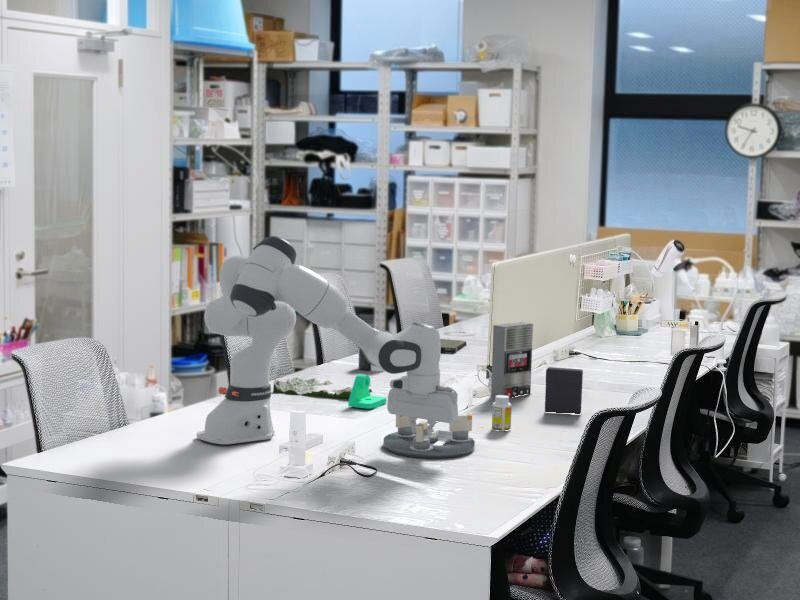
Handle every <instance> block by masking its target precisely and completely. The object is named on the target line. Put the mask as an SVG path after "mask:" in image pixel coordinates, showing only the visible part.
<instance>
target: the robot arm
mask: <svg viewBox="0 0 800 600" xmlns="http://www.w3.org/2000/svg"><path fill="white" fill-rule="evenodd" d="M296 259H297V251H296V249H295V248H294V246H293V245H292V244H291V243H290V242H289V241H288V240H286V239H284V238H282V237H279V236H275V235H270V236H266V237H265V238H263V239H262V240H261V241H260V242H259V243H258V244H256V245H255V246H254V247H253V248H252V252H251V253H250V256H248V257H247V256H243V255H232V256H230V257H228V258H227V259H225V260H224V262H223V263H222V264H221V267H220V270H219V286H220V289H221V290H220V291H221V294H222V296H219V297H218V298H214V299H211V301H210V302H208V304H207V306H206V307H205V311H204V322H205V325H206V327H207V329H208V331H210V333H212V334H216V335H220V336H225V337H250V338H252V342H251V344H250V345H248V346H246V347H243V348H242V349H240V350H238V351H236V352H234V354H232V357H231V359H230V371H229V374H230V375H229V376H230V377H229V380H230V381H229V384H228V386H227V388H226V387H223V386H220V387H218V389H217V392H218V393H219V394H221V395H224V399H223V400H222V401H220V403H219V404H217V405H216V406H215V407H214V408H213V410H211V411H210V412H209V413H208V414H207V415H206V419H205V421H204V422H205V423H204V430H201V431H198V432H196V438H197V439H199V440H201V441H205V442H207V443H212V444H218V445H232V444H233V445H234V444H240V443H249V442H256V441H263V440H265V441H266V440H270V439H273V435H275V430H274V426H273V421H272V413H271V405H270V404H271V403H270V402H271V401H270V400H271V396H272V395H271V394H272V387H271V383H270V374H271V373H270V371H271V362H272V356H273V354H274V351H275V349H276V348H277V346H278V344H279V343H280V342H281V341H282V340H283V339H284V338H285V337H287V336H289V335H290V334H291V332H292V331H293V330H294V328H295V326H296V324H297V314H296V313H298V314H299V315H301V316H302V317H303V318H304V319H306V320H307V321H309V322H311V323H313V324H315V325H317V326H319V327H321V328H323V329H331V330H334V331H336V332H339V333H340V334H341V335H342V336H343V337H344V338H346V339H348V340H349V341H350V342H352V343H353V344H354V345H355V346H357V347H358V348H359V349H360V350H361V351H362V353H363V355H364V357H365V359H366V360H367V361H368V362H369V363H370V364H371V365H373V366H376V367H378V368H380V369H382V370H384V371H383V372H386V373H388V374H392V375H395V374H396V375H397V374H403V373H406V375H404V376H401V377H397V378H395V379H391V380H390V382H389V387H390V389H389V392H388V393H387V400H386V403H387V404H386V405H387V406H386V407H387V408H386V409H387V411H388V413H389V414H390V415H395V416H396V415H401V416H407V417H409V423H410V425H411V427H412V434H416V425H417V424H418V423H417V421H418V419H420V420H425V421H427V423H428V426H427V428H426V429H424V436H431V435H432V429H434V427H435V425H436V423H437V422H439V423H445V424H449V423H453V422H455V421H456V420H457V419H458V415H459V408H458V393H457V392H456V390H455V389H453V387H449V386H448V387H447V386H442V385H441V370H440V360H441V357H442V356H441V355H442V353H441V344H440V339H441V336H440V335H441V334H440V331H439V329H438V328H436V326H433V325H432V324H428V323H423V322H412V323H410V325H409V326H408V327H406V328H405V329H403V330H401V331H399V332H398V333H397V332H396V333H394V334H393V333H392V332H390V331H387V330H386V329H380V328H375V327H372V326H371V325H370V324H368V323H367V322H365V321H364V320H363V319H362V318H360V317H359V316H358V315H356V314H355V313H354V312H352V311H351V309H350V308H349V303H348V298H347V297H346V296H345V295H344V294H343V293H342V292H341V290H339V288H338V287H336V286H335V285H333V284H332V283H331V282H330V281H329V280H327V279H326V278H325V277H323V276H322V275H320V274H318V273H317V272H314V271H313V270H312V269H309V268H307V267H305V266H303V265H301V264H296V263H295V262H296ZM415 420H416V421H415Z"/></svg>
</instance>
